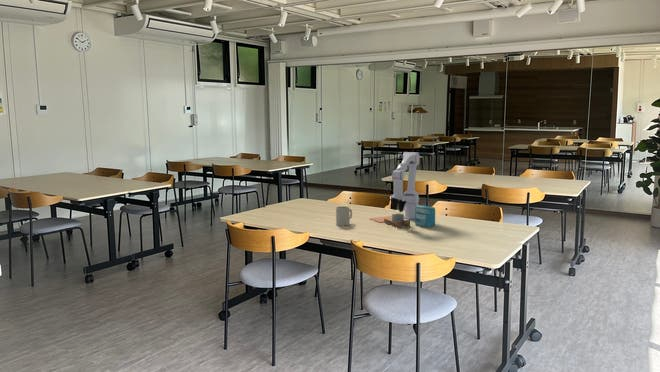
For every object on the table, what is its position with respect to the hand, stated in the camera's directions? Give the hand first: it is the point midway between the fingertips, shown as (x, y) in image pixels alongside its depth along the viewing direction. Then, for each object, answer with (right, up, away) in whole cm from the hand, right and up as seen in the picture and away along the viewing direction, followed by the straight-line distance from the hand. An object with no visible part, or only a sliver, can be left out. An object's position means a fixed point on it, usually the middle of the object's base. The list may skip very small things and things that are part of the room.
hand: (398, 210), depth 326 cm
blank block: (0, -9, +1) cm, 9 cm away
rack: (-1, -9, +3) cm, 9 cm away
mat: (-6, -7, +17) cm, 19 cm away
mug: (-33, -9, +6) cm, 35 cm away
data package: (+16, -10, -2) cm, 19 cm away
